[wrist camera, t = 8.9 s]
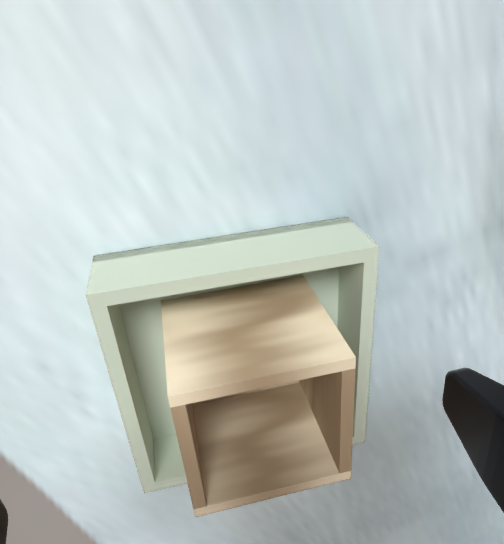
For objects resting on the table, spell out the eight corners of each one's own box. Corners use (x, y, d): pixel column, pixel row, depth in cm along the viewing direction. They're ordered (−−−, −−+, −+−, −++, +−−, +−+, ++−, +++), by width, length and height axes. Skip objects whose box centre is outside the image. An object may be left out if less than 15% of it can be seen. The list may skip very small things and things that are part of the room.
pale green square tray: (347, 216, 21) (379, 246, 18) (341, 398, 26) (364, 442, 23) (93, 255, 19) (85, 295, 16) (143, 440, 25) (144, 493, 22)
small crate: (303, 275, 21) (355, 357, 16) (305, 381, 24) (350, 478, 19) (160, 300, 20) (167, 396, 15) (183, 407, 23) (195, 517, 18)
